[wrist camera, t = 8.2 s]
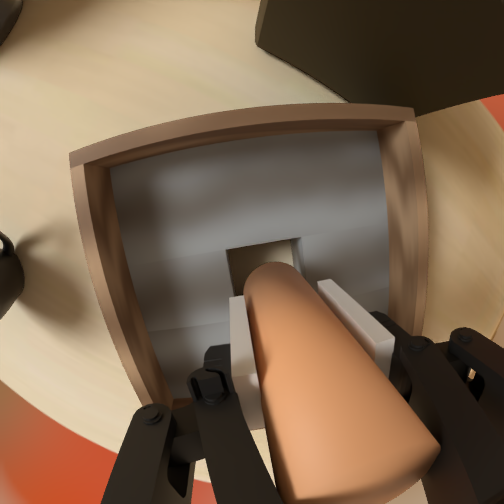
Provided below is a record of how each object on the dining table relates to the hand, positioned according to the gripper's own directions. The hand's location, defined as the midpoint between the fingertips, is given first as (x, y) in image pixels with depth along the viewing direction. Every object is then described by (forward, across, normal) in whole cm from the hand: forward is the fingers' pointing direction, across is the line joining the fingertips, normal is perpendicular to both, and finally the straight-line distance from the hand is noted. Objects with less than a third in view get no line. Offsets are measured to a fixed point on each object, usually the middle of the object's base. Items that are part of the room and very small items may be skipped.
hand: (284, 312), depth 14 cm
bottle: (+10, +10, +18) cm, 23 cm away
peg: (+3, 0, 0) cm, 3 cm away
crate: (+10, 0, 0) cm, 10 cm away
